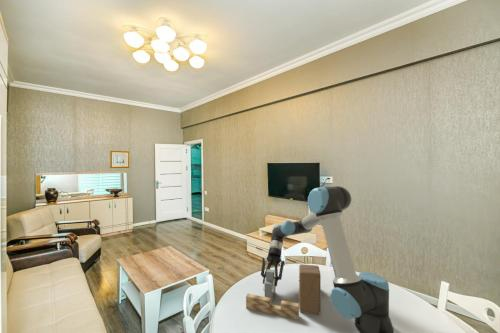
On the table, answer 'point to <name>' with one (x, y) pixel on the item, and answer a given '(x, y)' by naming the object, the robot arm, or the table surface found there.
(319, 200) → the robot arm
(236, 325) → the table surface
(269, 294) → the grey stepped block
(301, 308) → the wooden block
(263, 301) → the oak slotted plate
